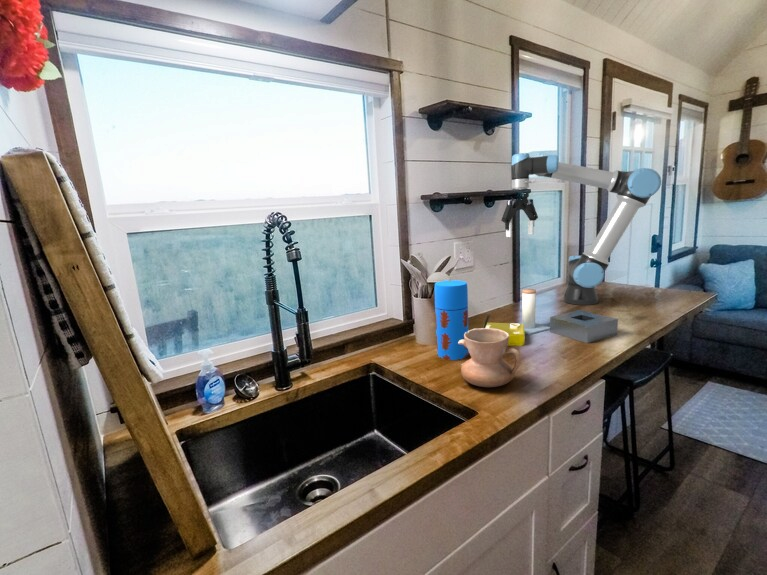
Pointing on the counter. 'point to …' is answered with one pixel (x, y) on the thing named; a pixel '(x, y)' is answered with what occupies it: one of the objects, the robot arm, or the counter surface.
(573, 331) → the block
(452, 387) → the counter surface
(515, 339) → the element tile
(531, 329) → the mat
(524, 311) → the white cylinder
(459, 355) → the thermos
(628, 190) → the robot arm
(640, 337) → the counter surface
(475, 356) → the ceramic jug
